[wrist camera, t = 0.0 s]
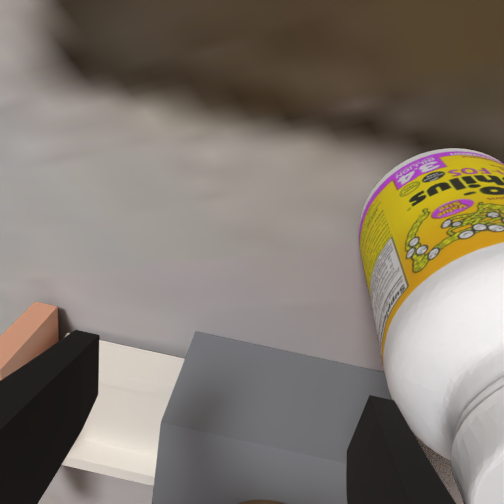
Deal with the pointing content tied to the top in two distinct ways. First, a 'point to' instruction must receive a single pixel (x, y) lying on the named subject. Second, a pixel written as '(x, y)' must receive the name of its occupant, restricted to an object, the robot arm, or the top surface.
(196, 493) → the storage box
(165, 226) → the top surface
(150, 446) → the drawer
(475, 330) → the supplement bottle
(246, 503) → the walnut puck
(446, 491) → the robot arm
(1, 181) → the top surface
